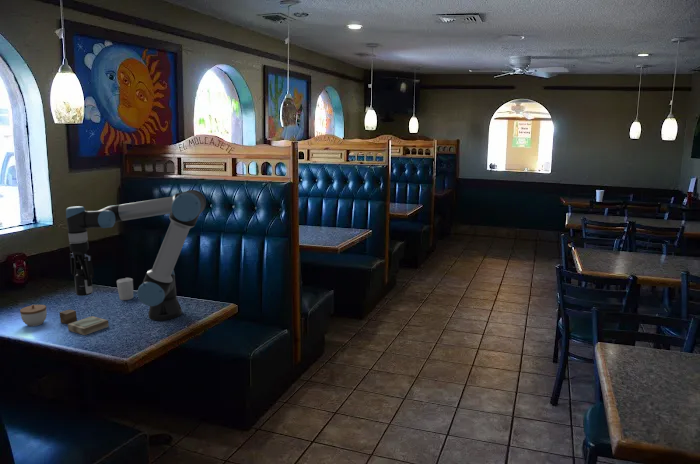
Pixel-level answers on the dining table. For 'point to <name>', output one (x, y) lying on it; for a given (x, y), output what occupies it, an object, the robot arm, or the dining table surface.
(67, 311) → the walnut cube
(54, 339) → the dining table surface
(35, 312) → the lidded jar
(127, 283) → the white cup
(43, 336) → the dining table surface
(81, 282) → the supplement bottle
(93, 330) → the plinth
